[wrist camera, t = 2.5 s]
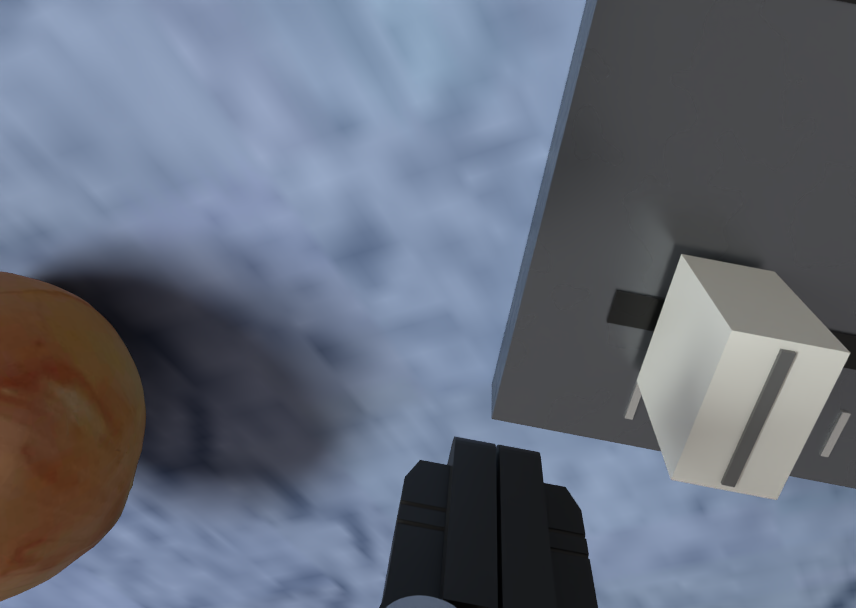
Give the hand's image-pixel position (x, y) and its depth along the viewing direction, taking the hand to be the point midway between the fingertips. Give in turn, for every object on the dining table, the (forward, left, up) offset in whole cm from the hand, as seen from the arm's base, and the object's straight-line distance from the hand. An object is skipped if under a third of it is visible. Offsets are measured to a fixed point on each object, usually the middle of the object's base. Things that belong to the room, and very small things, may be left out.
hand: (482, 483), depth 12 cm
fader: (0, +6, -8) cm, 10 cm away
